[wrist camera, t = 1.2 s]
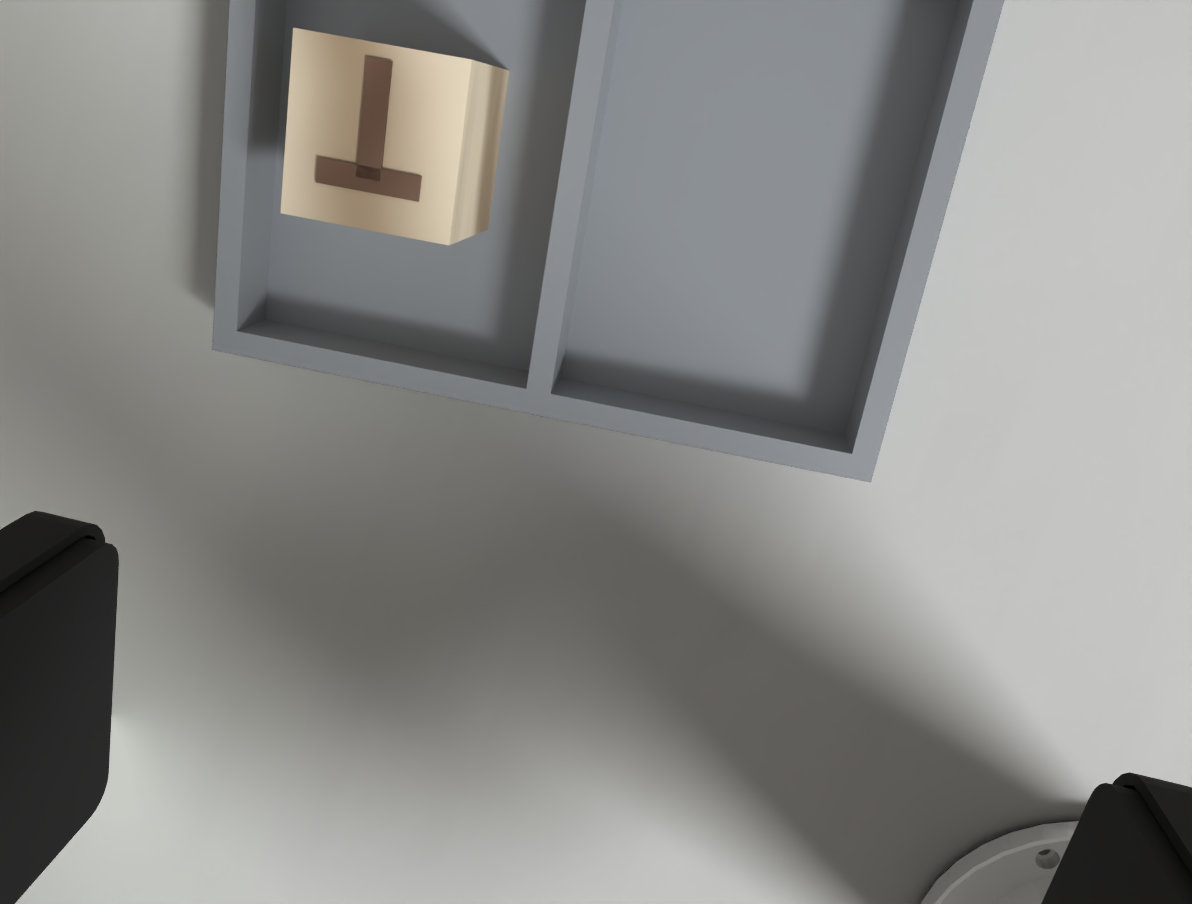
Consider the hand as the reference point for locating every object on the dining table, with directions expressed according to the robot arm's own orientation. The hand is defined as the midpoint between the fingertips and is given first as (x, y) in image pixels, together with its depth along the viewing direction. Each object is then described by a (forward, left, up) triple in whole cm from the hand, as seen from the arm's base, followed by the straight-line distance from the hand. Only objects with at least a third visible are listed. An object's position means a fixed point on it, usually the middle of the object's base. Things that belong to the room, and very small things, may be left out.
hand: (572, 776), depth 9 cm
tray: (+4, -4, -26) cm, 26 cm away
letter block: (+9, -4, -25) cm, 27 cm away
